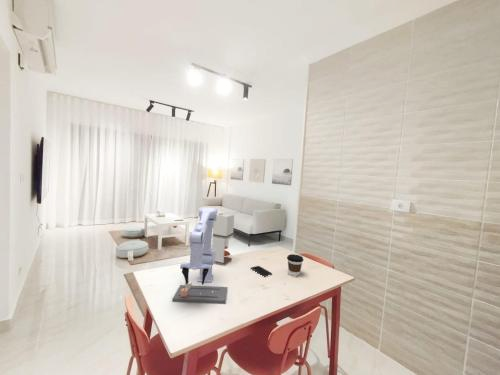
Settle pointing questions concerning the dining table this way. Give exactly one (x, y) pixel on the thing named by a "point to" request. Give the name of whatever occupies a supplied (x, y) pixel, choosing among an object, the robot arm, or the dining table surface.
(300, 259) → the coffee cup
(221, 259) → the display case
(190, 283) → the fader white
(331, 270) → the dining table surface
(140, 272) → the dining table surface
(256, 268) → the phone
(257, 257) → the dining table surface
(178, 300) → the console
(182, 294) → the fader terracotta
